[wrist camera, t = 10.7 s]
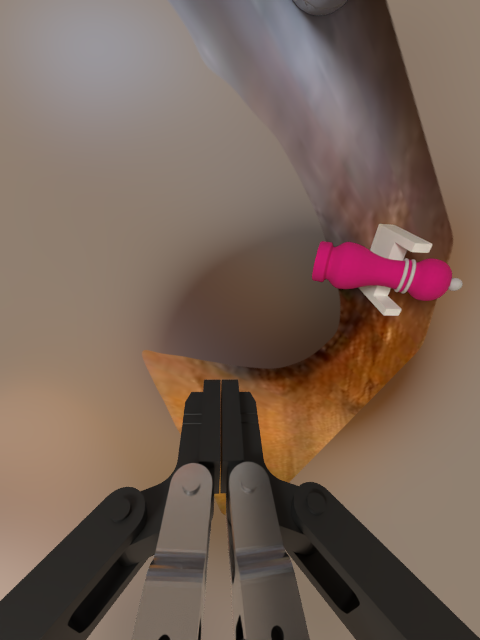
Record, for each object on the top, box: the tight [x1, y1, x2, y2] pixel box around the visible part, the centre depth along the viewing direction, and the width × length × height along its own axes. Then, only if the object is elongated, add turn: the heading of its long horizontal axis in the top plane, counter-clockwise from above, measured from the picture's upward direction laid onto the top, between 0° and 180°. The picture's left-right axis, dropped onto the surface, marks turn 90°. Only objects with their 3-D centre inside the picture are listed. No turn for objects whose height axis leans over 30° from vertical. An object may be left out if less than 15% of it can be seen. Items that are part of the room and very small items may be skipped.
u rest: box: [358, 224, 433, 316], centre depth 43 cm, size 11×2×10 cm, turn 176°
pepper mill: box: [312, 241, 462, 301], centre depth 40 cm, size 7×7×20 cm
